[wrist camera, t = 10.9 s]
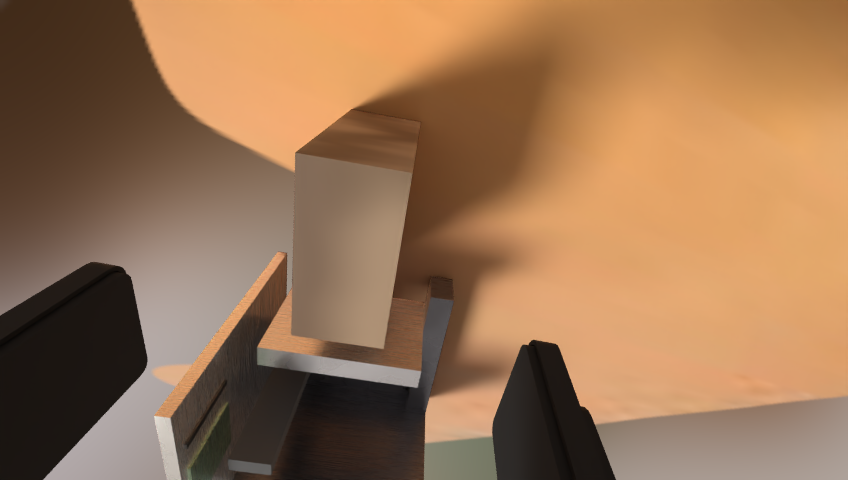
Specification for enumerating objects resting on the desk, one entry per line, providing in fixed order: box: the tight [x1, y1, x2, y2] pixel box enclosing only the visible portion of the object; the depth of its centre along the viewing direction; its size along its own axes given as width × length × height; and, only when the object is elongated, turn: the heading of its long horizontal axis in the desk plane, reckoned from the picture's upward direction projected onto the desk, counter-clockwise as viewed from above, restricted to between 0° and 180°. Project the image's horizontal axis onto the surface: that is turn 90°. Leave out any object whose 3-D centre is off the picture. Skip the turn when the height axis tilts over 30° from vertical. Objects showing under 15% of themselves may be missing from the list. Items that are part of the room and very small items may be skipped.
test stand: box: [154, 252, 454, 480], centre depth 23 cm, size 12×12×13 cm
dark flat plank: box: [228, 367, 310, 475], centre depth 23 cm, size 2×1×10 cm, turn 80°
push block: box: [291, 109, 421, 349], centre depth 19 cm, size 4×8×10 cm, turn 170°
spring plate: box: [257, 288, 424, 388], centre depth 23 cm, size 8×3×6 cm, turn 80°
